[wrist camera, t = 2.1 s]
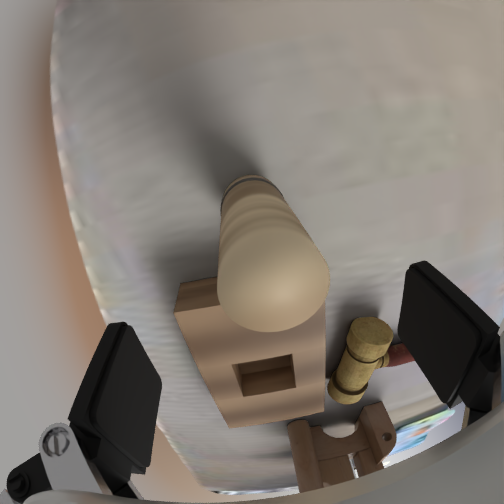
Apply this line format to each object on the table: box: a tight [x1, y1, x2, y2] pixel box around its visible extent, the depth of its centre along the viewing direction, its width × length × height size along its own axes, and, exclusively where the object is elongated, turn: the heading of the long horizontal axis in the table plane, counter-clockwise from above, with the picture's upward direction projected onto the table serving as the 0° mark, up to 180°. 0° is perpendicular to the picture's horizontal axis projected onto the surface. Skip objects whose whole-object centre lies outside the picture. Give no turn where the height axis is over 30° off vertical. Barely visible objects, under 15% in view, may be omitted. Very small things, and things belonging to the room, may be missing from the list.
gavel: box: [327, 317, 415, 404], centre depth 29 cm, size 21×5×10 cm
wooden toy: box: [287, 402, 396, 493], centre depth 25 cm, size 15×7×25 cm, turn 93°
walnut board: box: [174, 277, 326, 428], centre depth 25 cm, size 18×11×4 cm, turn 10°
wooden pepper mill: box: [217, 175, 330, 332], centre depth 15 cm, size 4×4×12 cm
